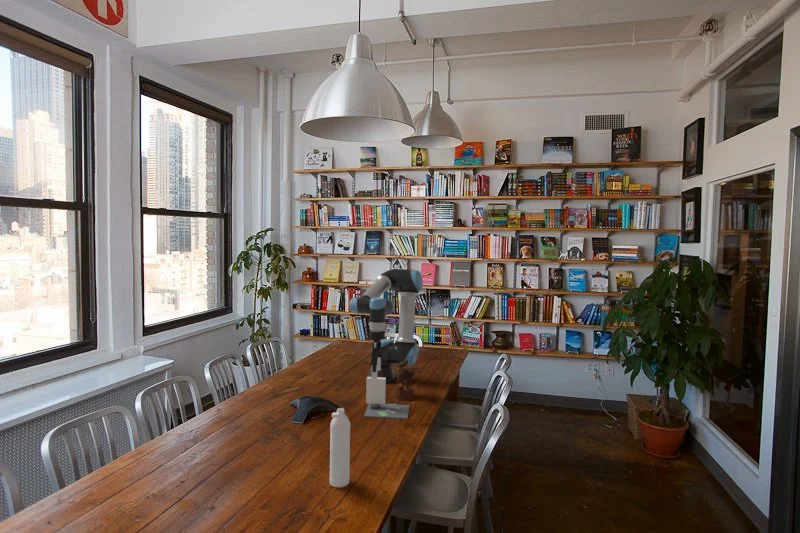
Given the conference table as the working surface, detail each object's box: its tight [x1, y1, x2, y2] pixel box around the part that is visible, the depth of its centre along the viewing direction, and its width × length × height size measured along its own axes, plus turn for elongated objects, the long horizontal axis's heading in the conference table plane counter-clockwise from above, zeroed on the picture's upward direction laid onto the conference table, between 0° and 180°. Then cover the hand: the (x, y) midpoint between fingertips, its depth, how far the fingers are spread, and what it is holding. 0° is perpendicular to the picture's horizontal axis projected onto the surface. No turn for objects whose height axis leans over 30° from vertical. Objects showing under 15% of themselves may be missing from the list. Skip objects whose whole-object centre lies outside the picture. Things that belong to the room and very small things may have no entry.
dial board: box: [363, 403, 410, 420], centre depth 211 cm, size 16×20×1 cm
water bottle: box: [329, 407, 351, 488], centre depth 146 cm, size 9×6×25 cm
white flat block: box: [365, 376, 397, 408], centre depth 213 cm, size 4×14×14 cm, turn 86°
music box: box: [393, 360, 415, 401], centre depth 231 cm, size 15×11×20 cm
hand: (376, 374), depth 213 cm, fingers open, 13 cm apart
